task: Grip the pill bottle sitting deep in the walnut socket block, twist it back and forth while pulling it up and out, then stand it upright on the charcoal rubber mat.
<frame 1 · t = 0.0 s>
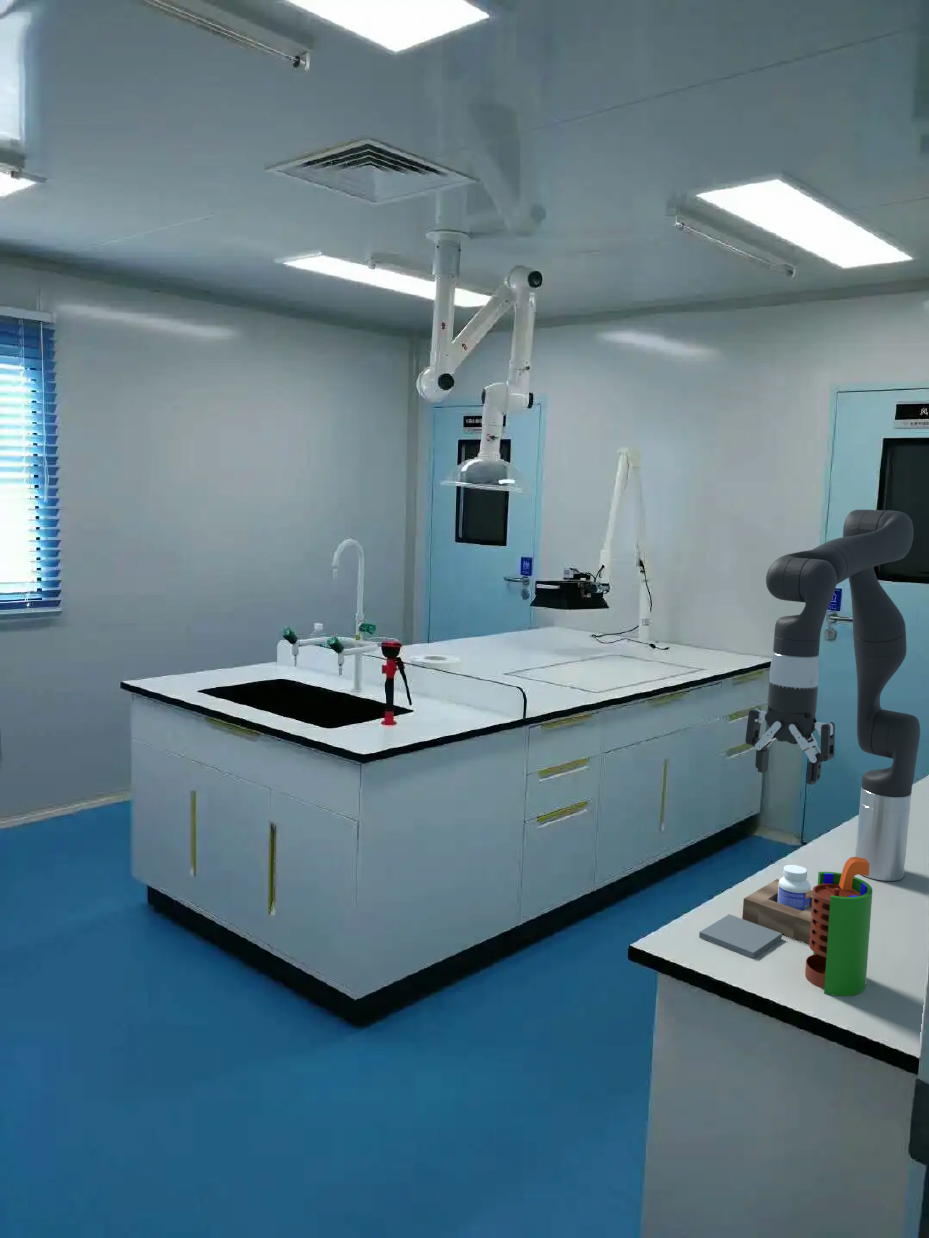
hand: (786, 777, 159), 29 cm above the table, tool pointing down, fingers open, 8 cm apart
pill bottle: (791, 921, 172), resting in socket block
mat: (740, 938, 165), on the table
green brown cylinder: (834, 980, 152), on the table
socket block: (791, 920, 172), on the table
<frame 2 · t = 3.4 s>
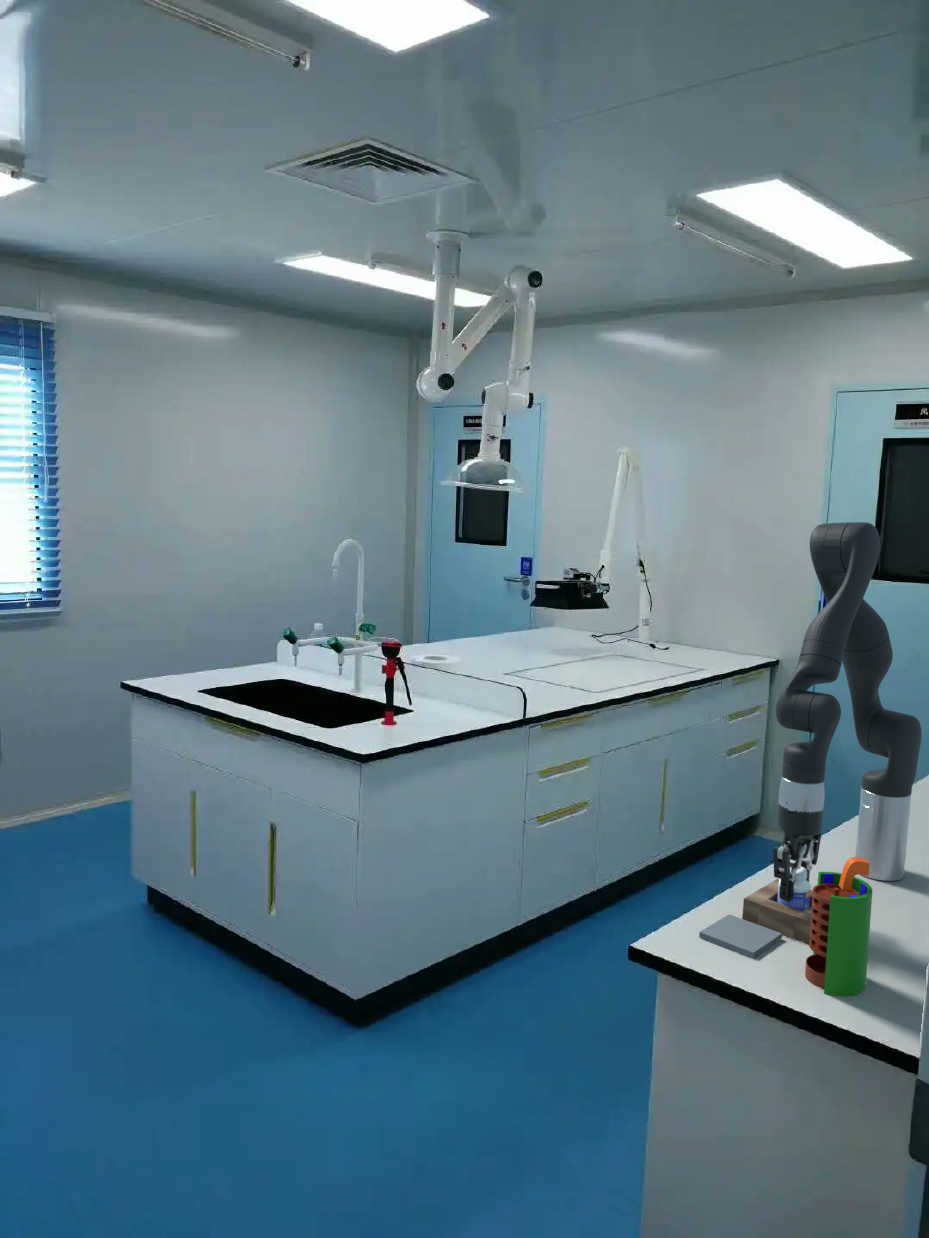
hand: (793, 894, 171), 5 cm above the table, tool pointing down, fingers closed on pill bottle, 5 cm apart
pill bottle: (791, 921, 172), resting in socket block, touching gripper
everything else where it was.
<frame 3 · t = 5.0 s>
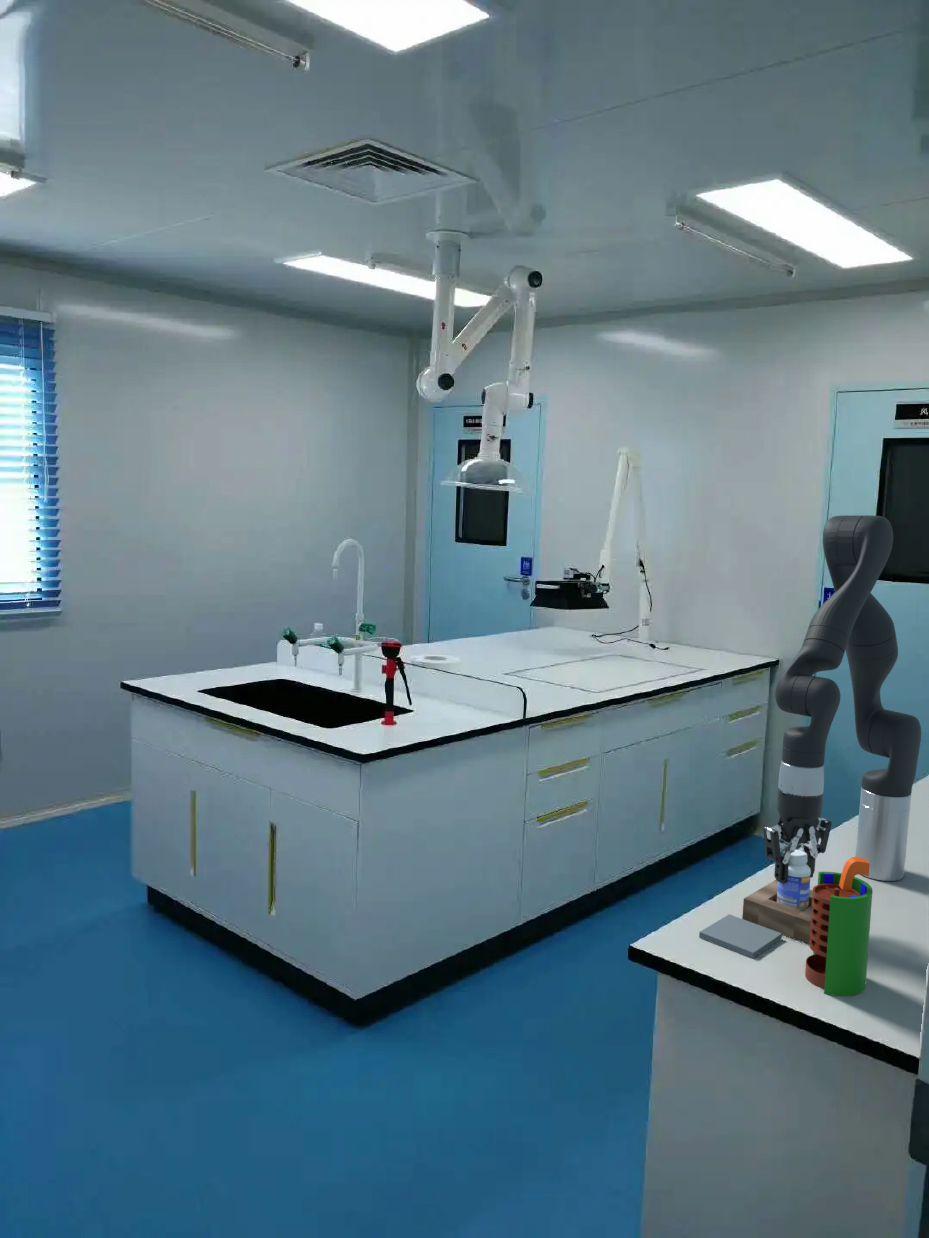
hand: (794, 878, 171), 8 cm above the table, tool pointing down, fingers closed on pill bottle, 5 cm apart
pill bottle: (792, 906, 172), point 3 cm above the table, touching gripper
everything else where it was.
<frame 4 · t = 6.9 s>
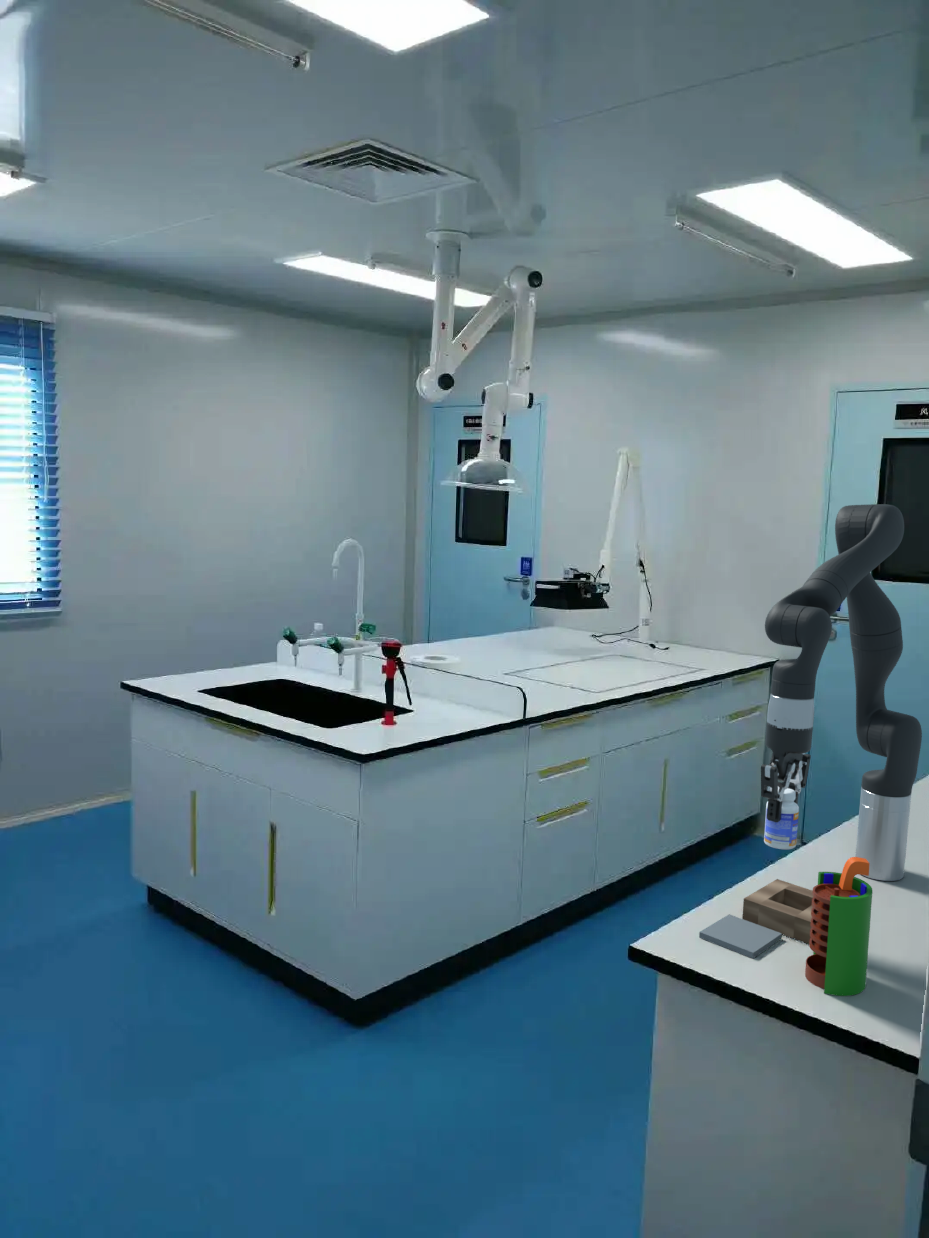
hand: (781, 816, 166), 20 cm above the table, tool pointing down, fingers closed on pill bottle, 5 cm apart
pill bottle: (779, 845, 167), point 15 cm above the table, touching gripper
everything else where it was.
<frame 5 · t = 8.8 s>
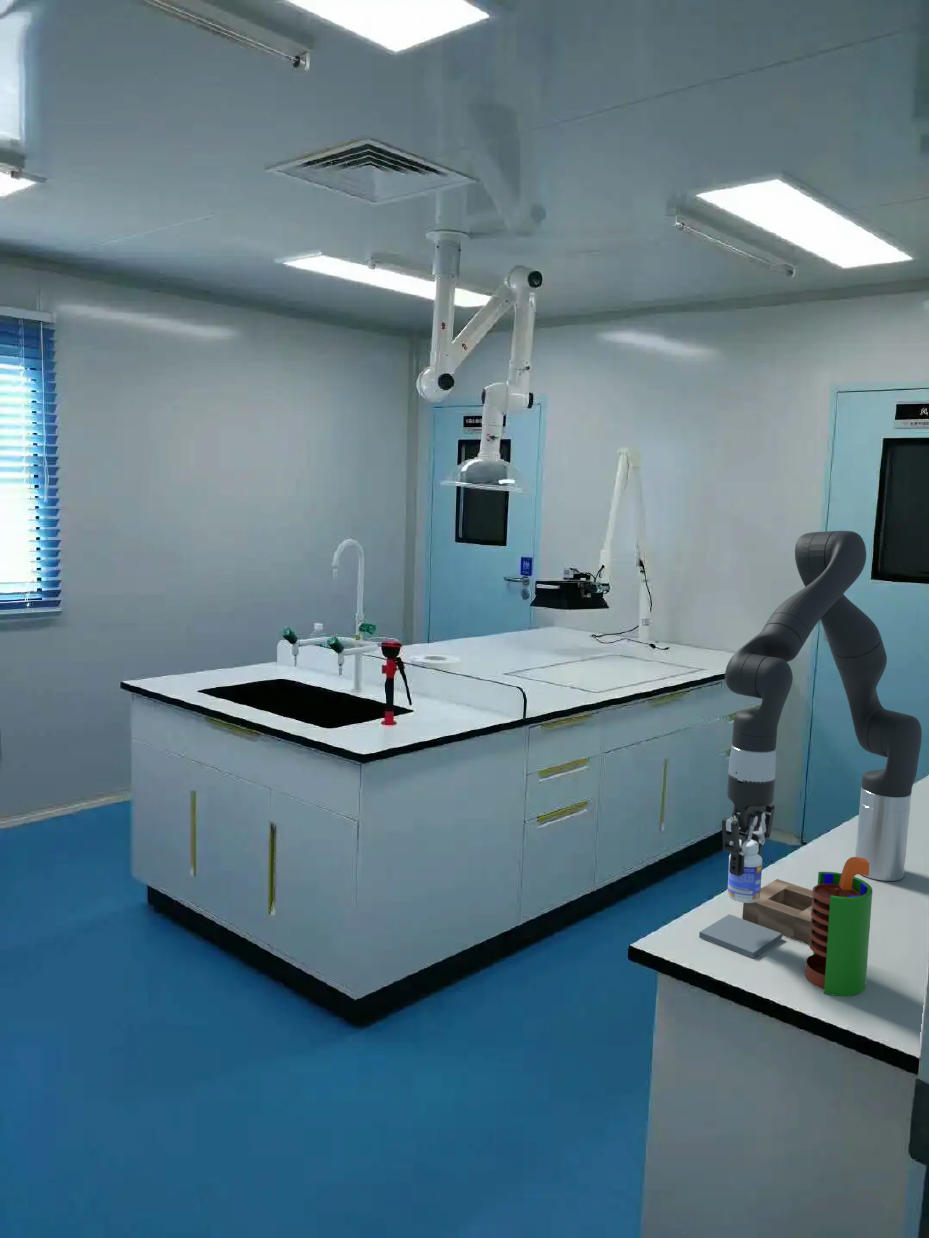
hand: (745, 869, 163), 12 cm above the table, tool pointing down, fingers closed on pill bottle, 5 cm apart
pill bottle: (743, 898, 164), point 7 cm above the table, touching gripper
everything else where it was.
when the fingers open (7 cm above the table, at t = 10.7 s): pill bottle moves 1 cm, resting on mat.
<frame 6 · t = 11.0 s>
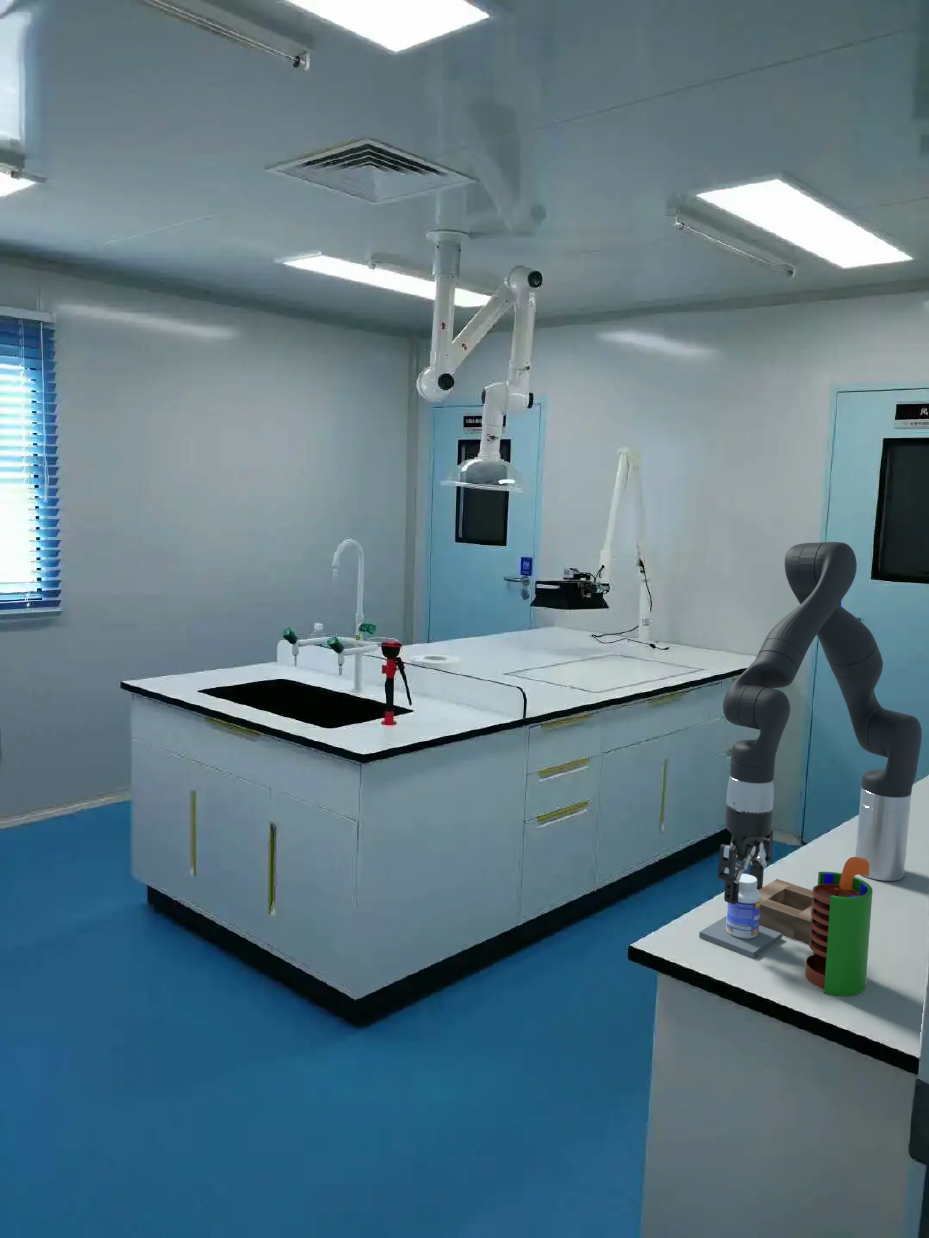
hand: (743, 895, 164), 8 cm above the table, tool pointing down, fingers open, 8 cm apart
pill bottle: (741, 933, 165), point 1 cm above the table, touching mat
everything else where it was.
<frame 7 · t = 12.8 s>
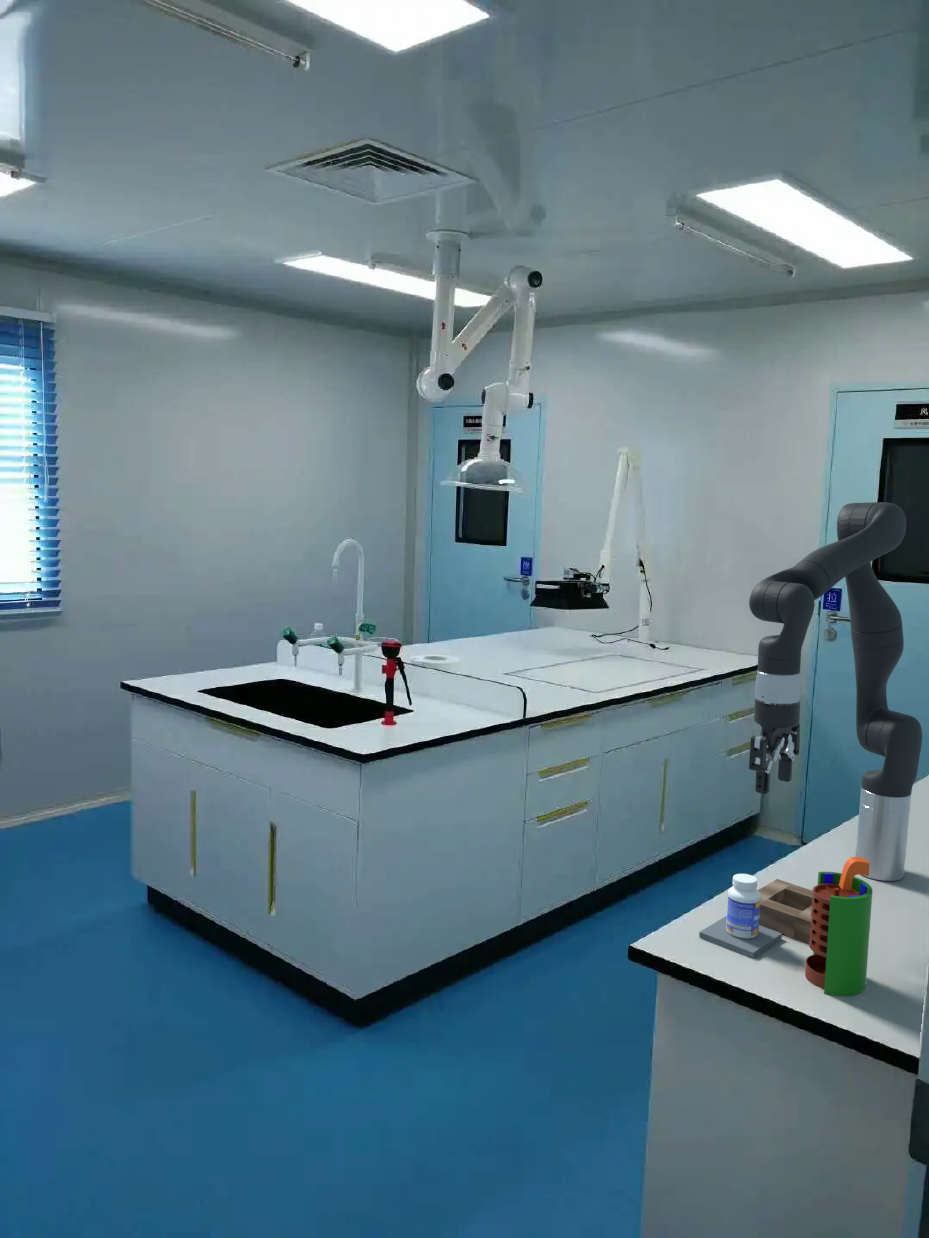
hand: (773, 786, 169), 25 cm above the table, tool pointing down, fingers open, 8 cm apart
nothing on the table moved.
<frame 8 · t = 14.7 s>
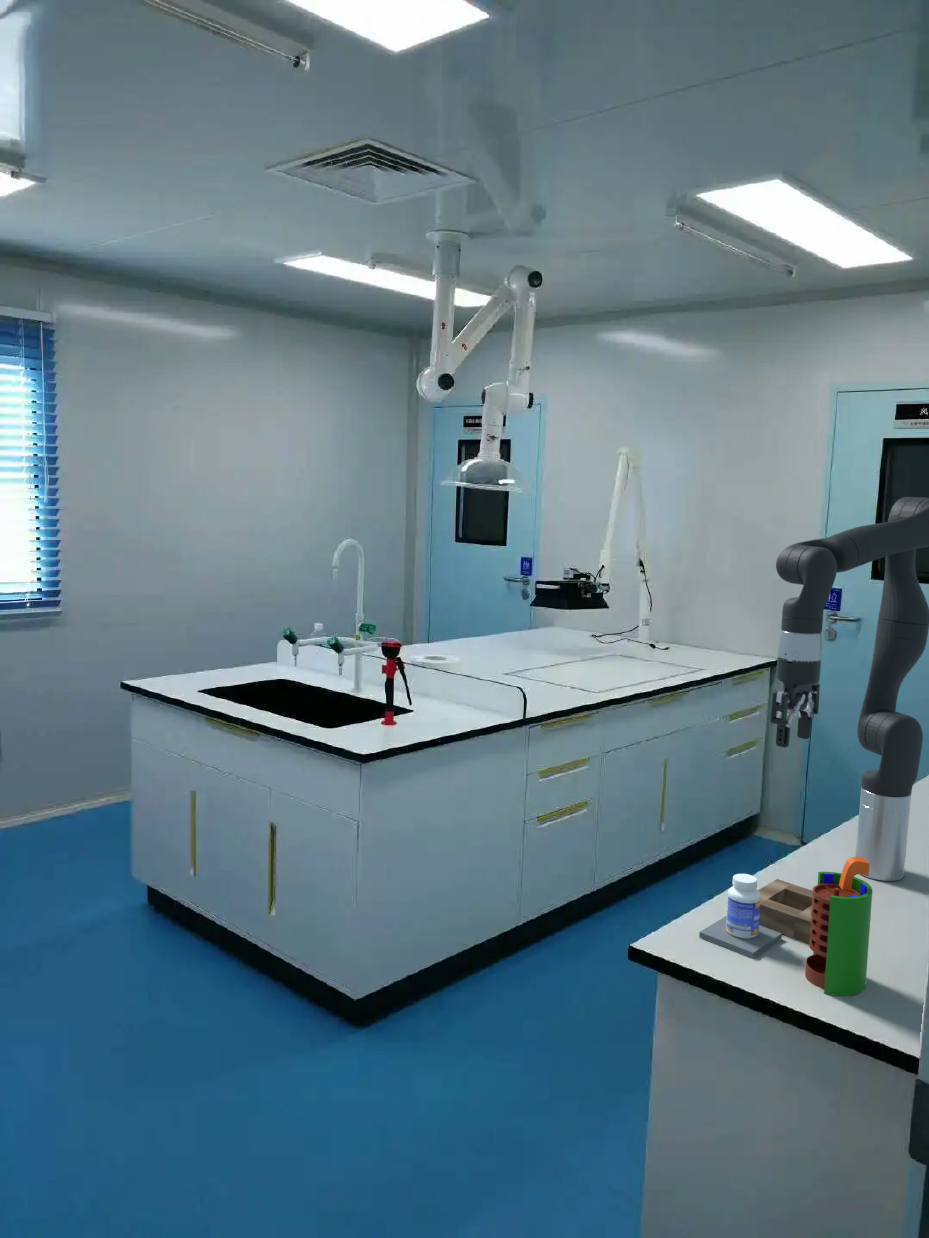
hand: (792, 742, 177), 30 cm above the table, tool pointing down, fingers open, 8 cm apart
nothing on the table moved.
at the end: pill bottle inside the target area on the mat (0.3 cm from its centre), point 0.8 cm above the mat's base; pill bottle tilted 0°; the gripper is holding nothing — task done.
